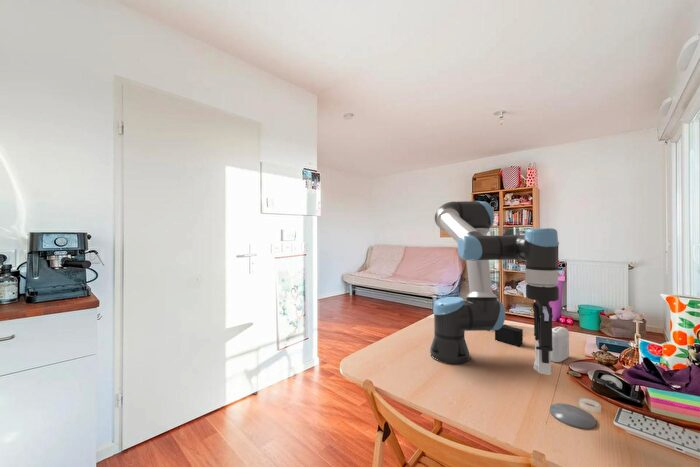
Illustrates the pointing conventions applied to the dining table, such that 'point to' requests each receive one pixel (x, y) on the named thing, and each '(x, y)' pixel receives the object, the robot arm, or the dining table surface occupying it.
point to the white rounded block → (560, 344)
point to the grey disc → (572, 416)
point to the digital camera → (509, 335)
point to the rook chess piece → (537, 360)
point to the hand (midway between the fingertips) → (543, 369)
